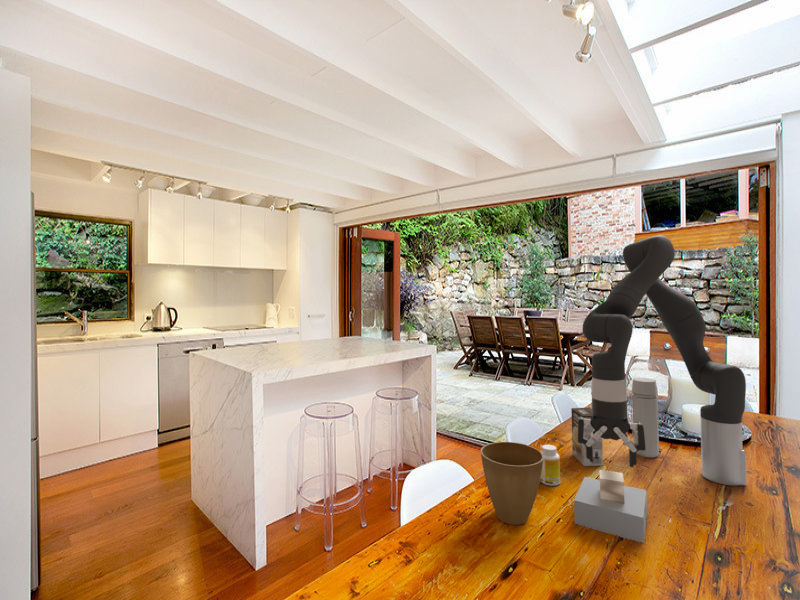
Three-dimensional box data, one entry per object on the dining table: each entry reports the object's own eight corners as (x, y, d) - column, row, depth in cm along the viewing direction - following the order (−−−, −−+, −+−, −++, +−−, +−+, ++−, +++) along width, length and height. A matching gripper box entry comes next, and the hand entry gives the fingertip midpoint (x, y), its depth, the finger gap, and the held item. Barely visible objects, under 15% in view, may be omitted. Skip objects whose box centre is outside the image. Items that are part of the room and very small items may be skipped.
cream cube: (623, 493, 94) (622, 473, 94) (624, 503, 90) (623, 482, 90) (600, 489, 97) (599, 469, 97) (600, 499, 92) (599, 478, 92)
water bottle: (659, 452, 131) (657, 378, 131) (659, 460, 124) (657, 383, 124) (627, 447, 136) (625, 376, 136) (626, 455, 129) (624, 380, 129)
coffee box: (571, 454, 131) (570, 407, 131) (590, 454, 131) (589, 406, 131) (583, 466, 122) (582, 415, 122) (604, 466, 122) (603, 415, 122)
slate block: (647, 514, 96) (646, 490, 96) (644, 545, 84) (643, 517, 84) (585, 499, 104) (584, 476, 104) (574, 525, 92) (573, 500, 92)
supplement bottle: (564, 483, 111) (563, 448, 111) (550, 488, 109) (549, 452, 109) (549, 476, 116) (548, 442, 116) (535, 480, 114) (534, 445, 114)
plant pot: (512, 542, 86) (510, 470, 86) (470, 510, 99) (468, 448, 99) (559, 522, 93) (557, 456, 92) (514, 495, 106) (512, 437, 106)
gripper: (641, 395, 94) (643, 461, 94) (576, 390, 100) (578, 453, 100) (645, 403, 87) (647, 475, 87) (576, 398, 93) (578, 465, 93)
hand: (610, 463), depth 93 cm, fingers open, 8 cm apart
